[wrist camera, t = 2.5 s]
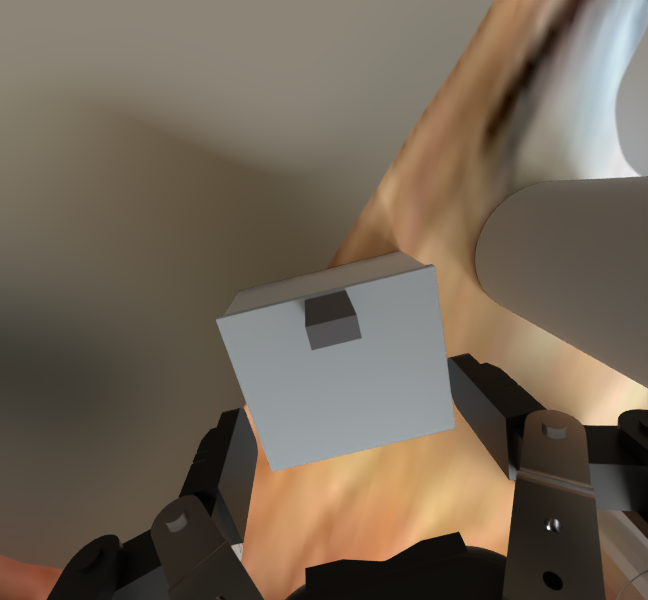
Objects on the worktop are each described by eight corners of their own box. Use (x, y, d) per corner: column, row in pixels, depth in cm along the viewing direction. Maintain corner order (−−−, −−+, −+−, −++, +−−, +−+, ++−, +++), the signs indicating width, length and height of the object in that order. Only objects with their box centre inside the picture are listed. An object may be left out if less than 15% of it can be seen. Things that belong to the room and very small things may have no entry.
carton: (400, 251, 31) (431, 269, 24) (420, 374, 36) (451, 422, 28) (239, 290, 32) (219, 320, 24) (279, 408, 36) (272, 465, 28)
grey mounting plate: (431, 264, 24) (469, 284, 18) (452, 423, 28) (487, 477, 23) (217, 316, 24) (193, 351, 18) (272, 466, 28) (265, 529, 23)
